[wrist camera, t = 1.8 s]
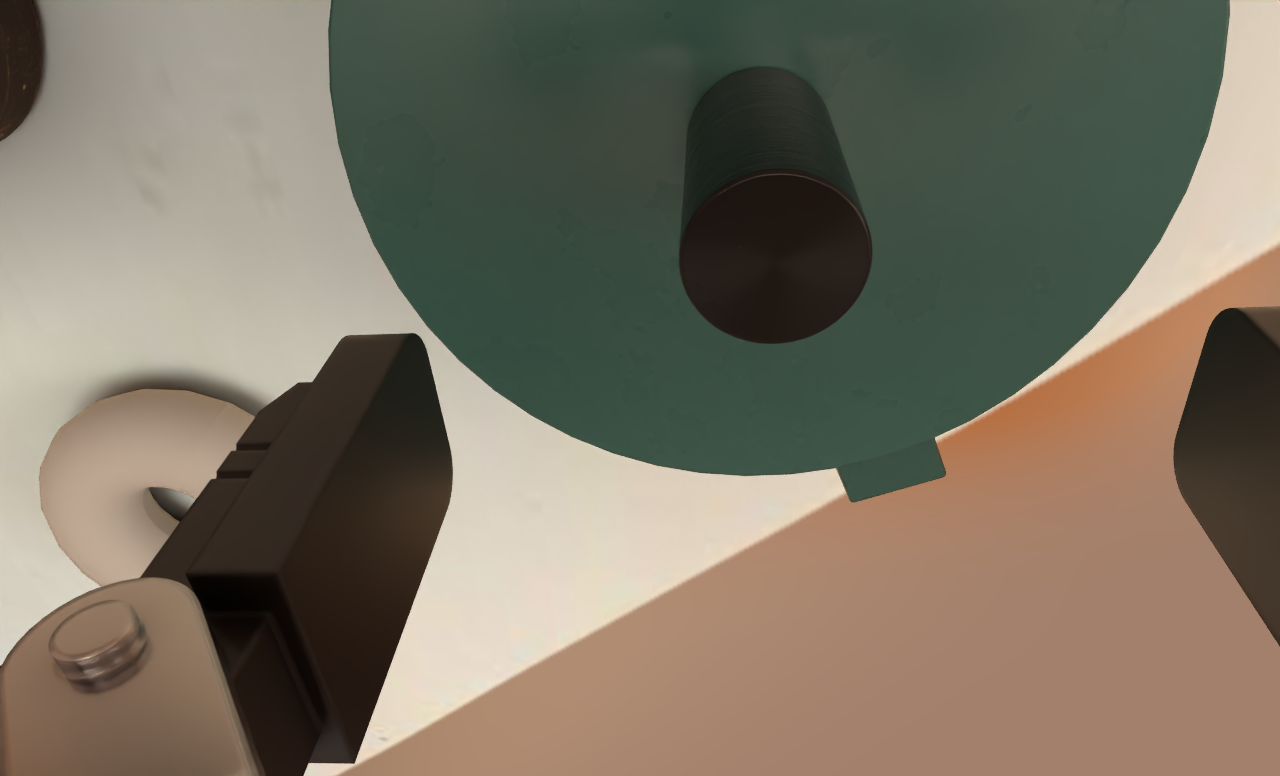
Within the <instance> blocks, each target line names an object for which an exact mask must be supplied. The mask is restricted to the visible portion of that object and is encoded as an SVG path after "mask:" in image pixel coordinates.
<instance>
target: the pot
mask: <svg viewBox="0 0 1280 776" xmlns="http://www.w3.org/2000/svg"><path fill="white" fill-rule="evenodd" d="M836 469H837V471H838V474H839V476H840V479H841V481H842V483H843V486H844V488H845V490H846V493H847V495H848V497H849V500H850V501H851V502H857V501H861V500H864V499H868V498H872V497H875V496H879V495H882V494H886V493H889V492H893V491H896V490H900V489H903V488H907V487H910V486H914V485H918V484H921V483H924V482H928V481H932V480H935V479H939V478H942V477H944V476H945V475H946V471H945V468H944V465H943V462H942V459H941V456H940V453H939V450H938V447H937V444H936V441H935V438H932V439H930V440H928V441H926V442H923V443H920V444H917V445H914V446H911V447H909V448H906V449H903V450H900V451H897V452H894V453H891V454H889V455H886V456H883V457H880V458H875V459H871V460H867V461H863V462H859V463H855V464H850V465H846V466H842V467H838V468H836Z"/></svg>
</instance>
